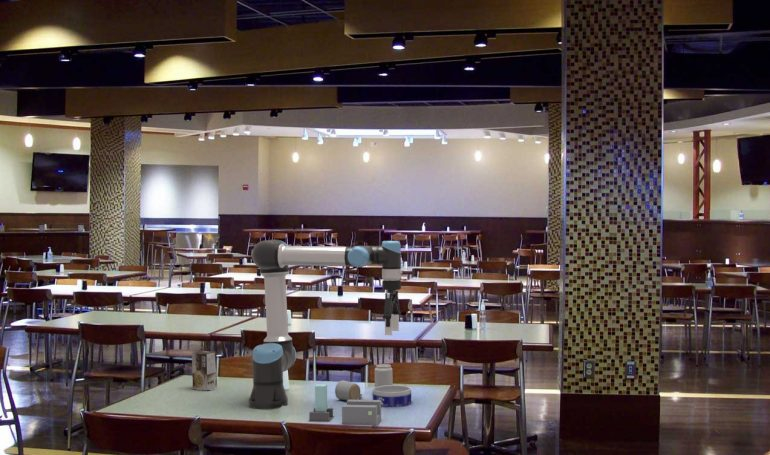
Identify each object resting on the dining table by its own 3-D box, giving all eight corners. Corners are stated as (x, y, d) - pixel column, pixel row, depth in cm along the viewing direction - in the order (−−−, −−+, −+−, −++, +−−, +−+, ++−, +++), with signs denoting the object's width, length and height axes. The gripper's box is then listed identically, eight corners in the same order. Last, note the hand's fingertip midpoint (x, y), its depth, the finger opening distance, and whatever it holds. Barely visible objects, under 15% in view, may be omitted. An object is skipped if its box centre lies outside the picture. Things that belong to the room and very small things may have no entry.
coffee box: (217, 389, 367) (217, 351, 367) (207, 391, 362) (206, 353, 362) (202, 387, 372) (202, 350, 372) (191, 389, 366) (191, 352, 366)
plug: (315, 419, 302) (314, 386, 302) (317, 417, 306) (317, 384, 306) (325, 419, 302) (324, 386, 302) (327, 417, 305) (327, 384, 305)
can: (372, 394, 350) (371, 365, 350) (378, 391, 357) (378, 363, 357) (388, 396, 347) (388, 366, 347) (395, 392, 354) (395, 364, 354)
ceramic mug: (350, 403, 334) (350, 383, 335) (334, 400, 340) (334, 381, 340) (367, 399, 343) (367, 380, 343) (351, 396, 348) (351, 378, 348)
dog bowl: (366, 406, 329) (366, 390, 329) (381, 398, 343) (380, 383, 343) (403, 409, 324) (403, 393, 324) (416, 401, 338) (416, 385, 338)
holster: (307, 424, 300) (307, 412, 300) (313, 418, 309) (313, 407, 309) (329, 424, 299) (329, 413, 299) (334, 418, 308) (334, 407, 308)
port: (341, 426, 295) (341, 406, 295) (348, 418, 308) (348, 399, 307) (375, 427, 293) (375, 407, 293) (381, 419, 306) (381, 400, 306)
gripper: (394, 281, 324) (395, 337, 324) (406, 277, 348) (406, 329, 348) (375, 281, 325) (375, 336, 325) (388, 277, 349) (389, 328, 350)
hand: (392, 333), depth 337 cm, fingers open, 13 cm apart
